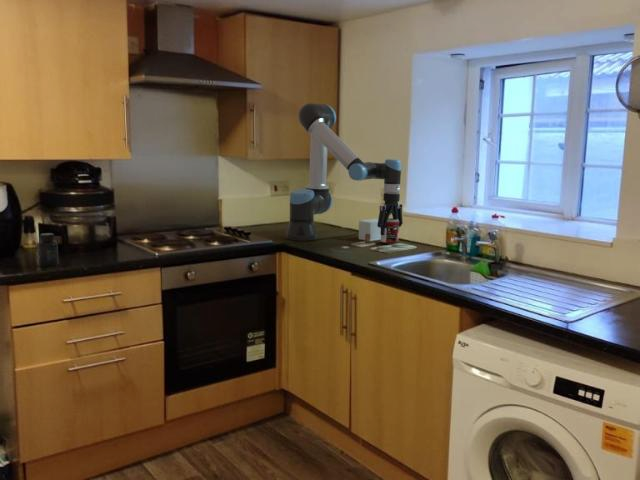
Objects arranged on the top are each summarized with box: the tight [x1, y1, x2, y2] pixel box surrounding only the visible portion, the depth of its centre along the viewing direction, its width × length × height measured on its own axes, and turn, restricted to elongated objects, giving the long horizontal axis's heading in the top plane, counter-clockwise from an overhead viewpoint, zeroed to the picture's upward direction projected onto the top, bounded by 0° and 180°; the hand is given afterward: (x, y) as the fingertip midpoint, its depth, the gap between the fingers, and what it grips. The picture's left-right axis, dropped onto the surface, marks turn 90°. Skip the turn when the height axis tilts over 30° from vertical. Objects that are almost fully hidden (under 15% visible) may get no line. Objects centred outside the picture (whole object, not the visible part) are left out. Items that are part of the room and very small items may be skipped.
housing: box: [358, 218, 381, 242], centre depth 299 cm, size 8×12×9 cm, turn 133°
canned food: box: [381, 217, 399, 245], centre depth 287 cm, size 8×8×11 cm
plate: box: [350, 234, 376, 248], centre depth 282 cm, size 6×10×5 cm, turn 133°
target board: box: [370, 242, 417, 254], centre depth 275 cm, size 10×20×1 cm, turn 133°
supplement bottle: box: [37, 232, 59, 268], centre depth 229 cm, size 7×7×12 cm
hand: (389, 240), depth 288 cm, fingers closed on canned food, 8 cm apart
